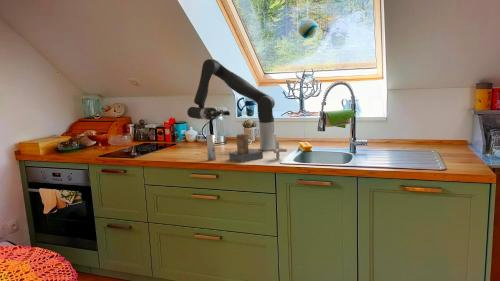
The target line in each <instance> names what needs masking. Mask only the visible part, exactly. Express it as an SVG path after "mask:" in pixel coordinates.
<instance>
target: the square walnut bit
mask: <svg viewBox="0 0 500 281" xmlns="http://www.w3.org/2000/svg"><path fill="white" fill-rule="evenodd" d="M236 147H237V148H236V149H237V150H236V151H237V153H240V154H244V153H249V150H248V149H249V135H248V134H245V133H240V134H239V133H238V134H236Z"/></svg>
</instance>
